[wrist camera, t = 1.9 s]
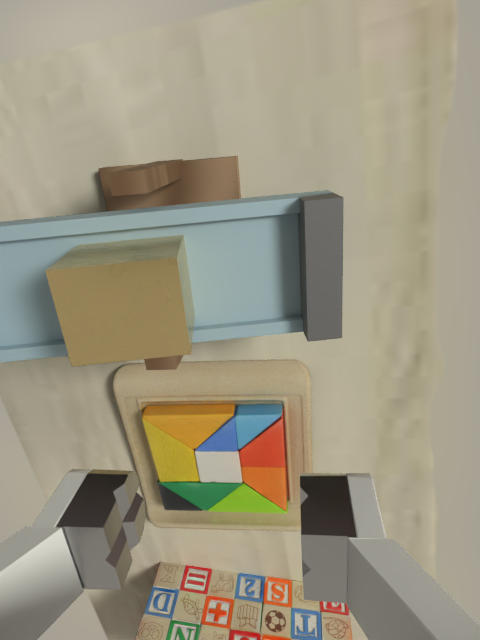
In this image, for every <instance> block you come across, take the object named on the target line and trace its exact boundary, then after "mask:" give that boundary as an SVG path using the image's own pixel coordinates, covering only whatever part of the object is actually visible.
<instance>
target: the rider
mask: <svg viewBox="0 0 480 640" xmlns="http://www.w3.org/2000/svg"><path fill="white" fill-rule="evenodd" d="M45 272H46V276H47V279H48V283H49V286H50V290H51V294H52V297H53V301H54V304H55V308H56V312H57V315H58V319H59V323H60V326H61V330H62V333H63V337H64V341H65V344H66V348H67V351H68V355H69V359H70V362H71V366H81V365H91V364H101V363H110V362H120V361H130V360H139V359H149V358H159V357H169V356H178V355H188V354H191V351H192V341H193V331H194V321H195V312H194V305H193V298H192V291H191V283H190V276H189V269H188V262H187V254H186V247H185V240H184V235H175V236H165V237H154V238H144V239H134V240H124V241H113V242H103V243H93V244H83V245H77V246H75V247H74V248H73V249H72V250H70V251H69V252H68V253H67V254H65V255H64V256H63V257H62V258H60V259H59V260H58V261H57V262H55V263H54V264H53V265H52V266H50V267H49V268H48V269H47V270H45Z"/></svg>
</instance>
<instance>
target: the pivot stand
mask: <svg viewBox="0 0 480 640" xmlns="http://www.w3.org/2000/svg"><path fill="white" fill-rule="evenodd" d="M99 174H100V179H101V184H102V188H103V193H104V198H105V203H106V208H107V212H108V211H118V210H128V209H139V208H149V207H160V206H170V205H180V204H191V203H201V202H211V201H222V200H232V199H241V194H240V182H239V169H238V157H237V156H232V157H221V158H209V159H197V160H186V161H183V160H182V159H180V160H169V161H157V162H152V163H148V164H140V165H128V166H117V167H105V168H100V169H99ZM182 357H183V355H178V356H169V357H159V358H149V359H144V360H145V365H146V370H176V369H177V367H178V365H179V363H180V361H181V359H182Z"/></svg>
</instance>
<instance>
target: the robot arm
mask: <svg viewBox="0 0 480 640" xmlns="http://www.w3.org/2000/svg"><path fill="white" fill-rule="evenodd" d="M139 485H140V483H139V479H138V476H137V473H136V472H134V471H119V470H95V469H93V470H83V469H72V470H71V471H69V472H68V473H67V474H66V475H65V477H64V478H63V480H62V481H61V483H60V484H59V486H58V487H57V489H56V490H55V492H54V493H53V495H52V496H51V498H50V499H49V501H48V502H47V504H46V505H45V507H44V508H43V510H42V512H41V513H40V515H39V516H38V517H37V519H36V520H35V522H34V523H33V525H32V526H31V527H24V528H22V529H21V530H19V531H18V532H16V533H15V534H13V535H12V536H10V537H9V538H7V539H6V540H4V541H3V542H2V543H0V640H37V639H38V638H39V637H40V636H41V635H42V634H43V633H44V632H45V631H46V630H47V629H48V628H49V627H50V626H51V625H52V624H53V623H54V622H55V621H56V620H57V618H58V617H59V616H60V615H61V614H62V613H63V612H64V611H65V610H66V609H67V608H68V607H69V606H70V605H71V604H72V603H73V602H74V601H75V600H76V599H77V598H78V597H79V596H80V595H81V594H82V592H83V589H104V590H122V587H123V585H124V582H125V579H126V577H127V574H128V571H129V569H130V566H131V563H132V557H131V553H130V550H131V549H132V548H134V547H135V546H136V545H137V544H138V543H139V542H140V539H141V536H142V533H143V530H144V523H145V504H144V500H143V498H142V497H141V496H140V495H139V494H138V493H137V490H138V487H139ZM300 504H301V505H300V509H301V543H302V570H303V591H304V600H311V601H323V602H335V603H347V606H348V608H349V610H350V611H351V613H352V614H353V616H354V617H355V619H356V621H357V622H358V624H359V625H360V627H361V628H362V630H363V632H364V633H365V635H366V636H367V638H368V639H369V640H480V626H479V625H478V624H477V623H476V622H475V621H474V620H473V619H472V618H471V617H470V616H469V614H468V613H467V612H466V611H465V610H464V609H463V608H462V607H460V606H459V604H458V603H456V601H455V600H453V598H452V597H451V596H450V595H449V594H447V592H446V591H445V590H444V589H443V588H442V587H441V586H440V585H439V584H438V583H437V582H436V581H435V580H434V579H433V578H432V577H431V576H430V575H429V574H428V573H427V572H426V571H425V570H424V569H423V568H422V567H421V566H420V565H419V564H418V563H417V562H416V561H415V560H414V559H413V558H412V557H411V556H410V555H409V554H408V553H407V552H406V551H405V550H404V549H403V548H402V547H401V546H400V545H399V544H398V543H397V541H396V540H395V539H387V538H386V534H385V530H384V526H383V521H382V517H381V513H380V508H379V504H378V500H377V495H376V491H375V487H374V483H373V478H372V476H371V475H370V473H346V474H330V473H300Z"/></svg>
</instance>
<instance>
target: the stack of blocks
mask: <svg viewBox="0 0 480 640" xmlns="http://www.w3.org/2000/svg"><path fill="white" fill-rule="evenodd" d="M135 640H352V631H351V620H350V616H349V608H348V606H347V603H335V602H323V601H311V600H304V591H303V582H301V581H291V580H287V579H280V578H273V577H263V576H256V575H249V574H242V573H234V572H226V571H219V570H212V569H208V568H201V567H194V566H187V565H181V564H174V563H167V562H160V564H159V567H158V571H157V574H156V577H155V580H154V583H153V588H152V590H151V593H150V596H149V599H148V602H147V605H146V608H145V611H144V615H143V616H142V619H141V622H140V625H139V629H138V631H137V635H136V637H135Z"/></svg>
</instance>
